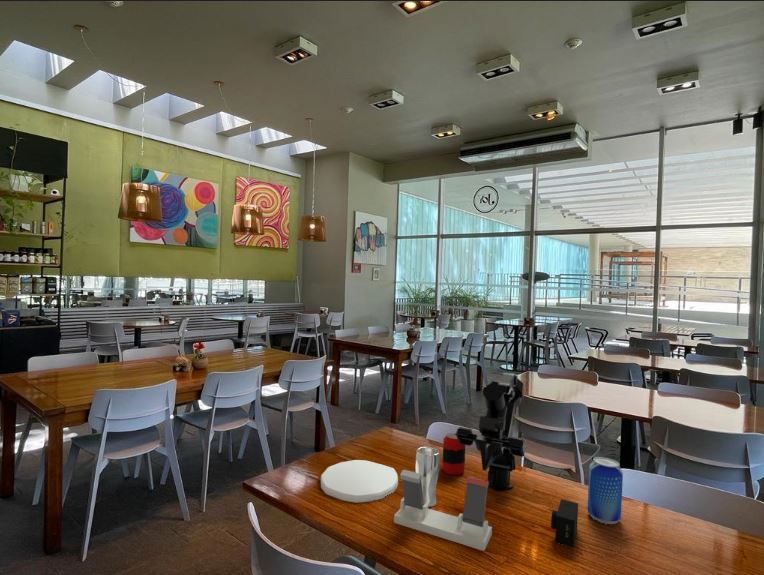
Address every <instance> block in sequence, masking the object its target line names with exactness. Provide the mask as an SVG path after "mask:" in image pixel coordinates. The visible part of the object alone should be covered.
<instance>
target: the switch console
mask: <svg viewBox="0 0 764 575" xmlns="http://www.w3.org/2000/svg"><path fill="white" fill-rule="evenodd" d="M393 516H394V518H393V523H394V524H397V525H399V526H403V527H407V528H410V529H413V530H416V531H419V532H422V533H425V534H429V535H431V536H435V537H438V538H442V539H445V540H448V541H450V542H451V541H452V542H454V543H458V544H461V545H464V546H466V547H470V548H474V549H476V550H479V551H483V552H484V551H485V550H486V548H487V546H488V544H489V541H490V539H491V537H492V534H493V527H492V526H491V525H489V520H486V519H484V522H483V527H479V526H476V525H472V524H469V523H465V522H463V513H459V515H458V516H456V515H451V514H450V513H449V514H448V513H445V512H442V511H437V510H434V509H431V508H429V507H428V504H426V503H425V505H424V506H423V510H421V509H417V508H414V507H410V506H407V505H405V502H404V496H403V497H402V498H401V499H400V508H399V509H398V510H397V511H396V512H395V514H394V515H393Z"/></svg>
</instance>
